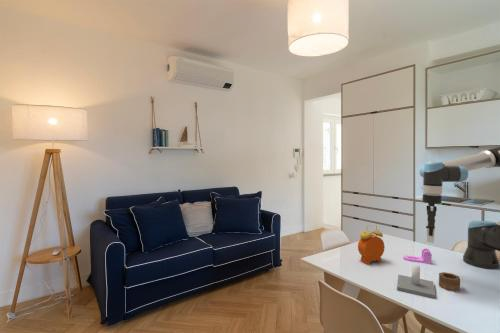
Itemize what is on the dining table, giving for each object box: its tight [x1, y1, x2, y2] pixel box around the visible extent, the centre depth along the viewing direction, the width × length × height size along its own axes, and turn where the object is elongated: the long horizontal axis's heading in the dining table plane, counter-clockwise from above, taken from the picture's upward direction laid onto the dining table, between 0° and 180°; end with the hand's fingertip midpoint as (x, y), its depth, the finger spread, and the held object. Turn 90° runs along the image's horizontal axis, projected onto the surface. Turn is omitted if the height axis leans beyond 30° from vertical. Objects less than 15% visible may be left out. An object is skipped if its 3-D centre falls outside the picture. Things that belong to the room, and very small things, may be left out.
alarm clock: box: [357, 224, 385, 265], centre depth 152 cm, size 13×6×20 cm, turn 108°
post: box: [396, 264, 437, 300], centre depth 122 cm, size 14×14×10 cm
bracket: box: [402, 247, 433, 265], centre depth 153 cm, size 13×6×7 cm, turn 66°
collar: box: [438, 271, 461, 292], centre depth 123 cm, size 7×7×5 cm
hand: (430, 238), depth 131 cm, fingers open, 13 cm apart
